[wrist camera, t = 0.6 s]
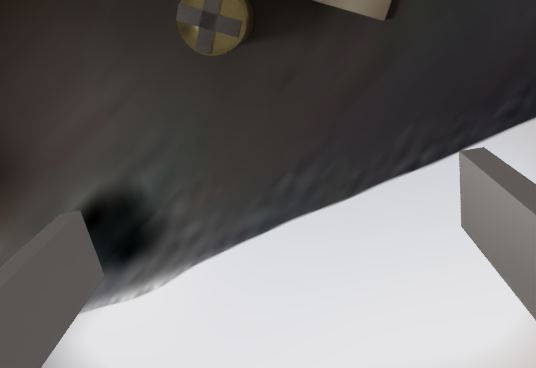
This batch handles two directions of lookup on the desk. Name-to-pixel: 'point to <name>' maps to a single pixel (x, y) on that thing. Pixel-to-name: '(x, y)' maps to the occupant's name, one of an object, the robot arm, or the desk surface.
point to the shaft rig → (362, 7)
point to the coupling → (214, 24)
